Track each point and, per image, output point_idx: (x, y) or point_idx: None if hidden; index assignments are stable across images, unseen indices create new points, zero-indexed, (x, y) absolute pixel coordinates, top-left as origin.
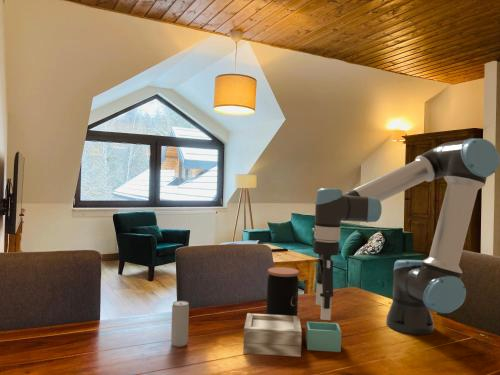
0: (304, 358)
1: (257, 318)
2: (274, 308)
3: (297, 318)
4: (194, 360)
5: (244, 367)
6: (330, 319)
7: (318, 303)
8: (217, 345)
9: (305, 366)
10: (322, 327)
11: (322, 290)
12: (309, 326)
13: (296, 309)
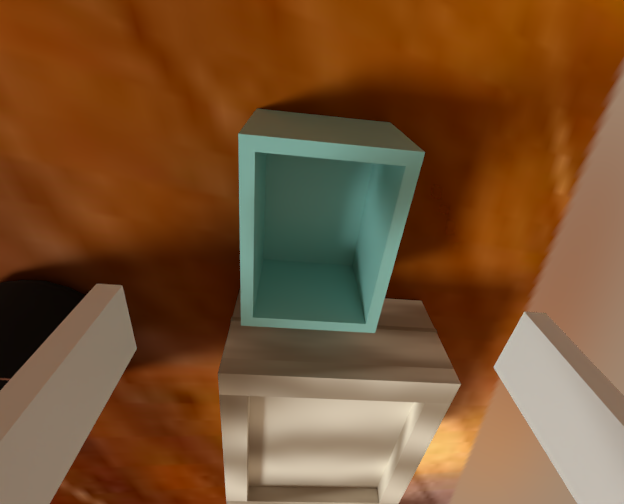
0: (437, 290)
1: (249, 477)
2: None
3: (261, 382)
4: (407, 489)
5: (464, 424)
6: (548, 316)
7: (126, 342)
8: None
9: (502, 295)
10: (257, 230)
11: (19, 462)
12: (324, 322)
13: (6, 341)
